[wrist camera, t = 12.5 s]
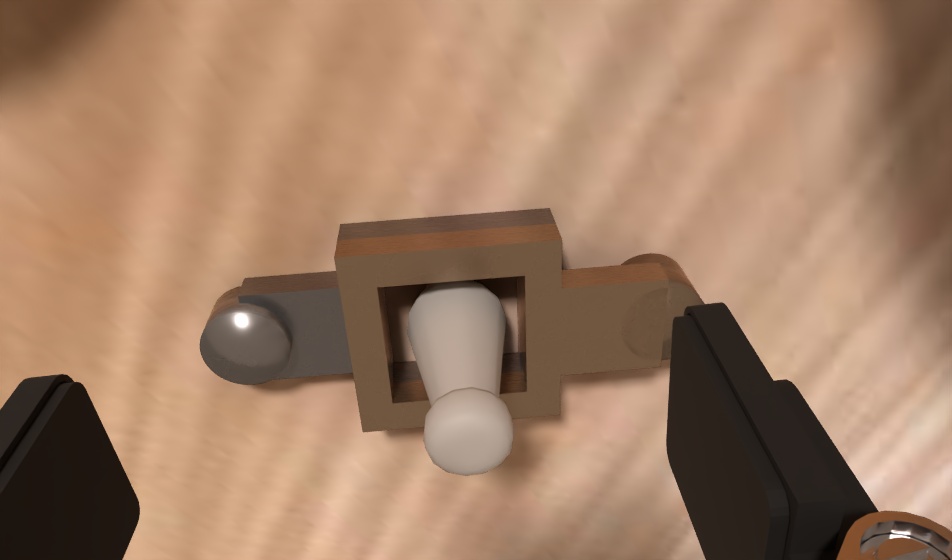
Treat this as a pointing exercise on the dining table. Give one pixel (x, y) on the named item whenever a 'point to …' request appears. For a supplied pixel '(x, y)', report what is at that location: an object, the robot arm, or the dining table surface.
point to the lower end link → (322, 312)
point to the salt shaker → (462, 375)
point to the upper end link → (542, 313)
